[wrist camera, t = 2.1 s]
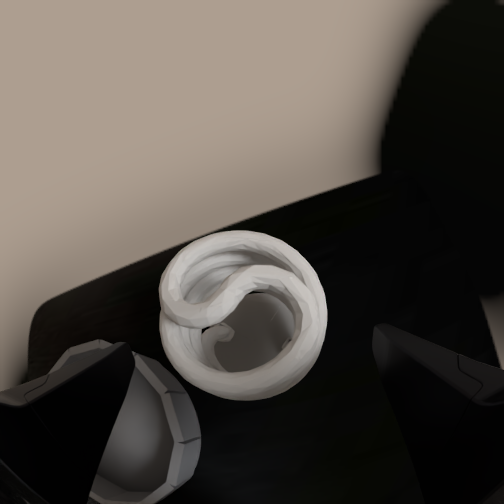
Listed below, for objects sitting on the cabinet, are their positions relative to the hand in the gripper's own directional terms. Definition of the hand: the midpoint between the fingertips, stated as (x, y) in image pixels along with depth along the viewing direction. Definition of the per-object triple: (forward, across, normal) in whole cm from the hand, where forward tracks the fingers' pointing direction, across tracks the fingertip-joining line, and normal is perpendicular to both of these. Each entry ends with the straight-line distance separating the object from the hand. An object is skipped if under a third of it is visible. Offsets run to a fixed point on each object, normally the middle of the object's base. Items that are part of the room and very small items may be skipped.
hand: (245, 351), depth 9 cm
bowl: (+3, +11, +10) cm, 15 cm away
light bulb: (+7, 0, +6) cm, 9 cm away
